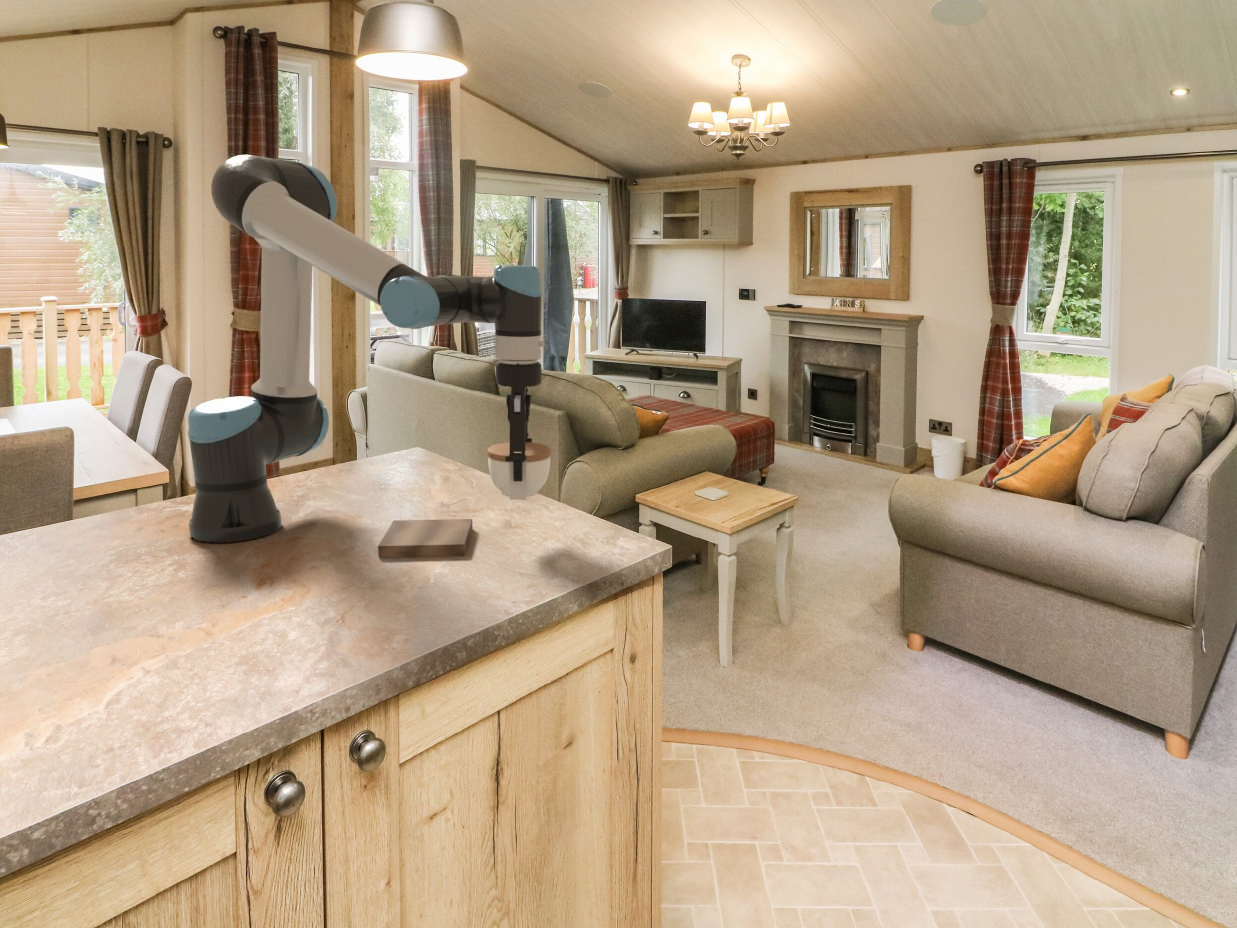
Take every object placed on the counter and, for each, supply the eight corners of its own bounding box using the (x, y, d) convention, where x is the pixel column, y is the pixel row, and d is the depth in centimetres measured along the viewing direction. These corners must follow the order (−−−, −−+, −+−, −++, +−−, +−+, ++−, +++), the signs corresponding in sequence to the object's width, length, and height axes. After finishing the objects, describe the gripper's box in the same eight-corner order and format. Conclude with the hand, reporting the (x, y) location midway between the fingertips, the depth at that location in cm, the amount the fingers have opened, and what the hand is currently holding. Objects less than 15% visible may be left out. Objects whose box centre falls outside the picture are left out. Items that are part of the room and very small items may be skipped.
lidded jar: (540, 503, 137) (540, 448, 135) (478, 498, 139) (477, 443, 137) (558, 486, 147) (558, 434, 145) (500, 482, 149) (499, 431, 147)
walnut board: (378, 557, 137) (377, 546, 136) (394, 530, 150) (393, 520, 150) (464, 555, 138) (464, 544, 137) (472, 529, 151) (472, 518, 151)
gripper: (540, 370, 127) (540, 509, 132) (542, 353, 149) (542, 472, 154) (490, 370, 126) (492, 509, 131) (499, 352, 148) (501, 472, 154)
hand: (519, 489), depth 143 cm, fingers closed on lidded jar, 11 cm apart
